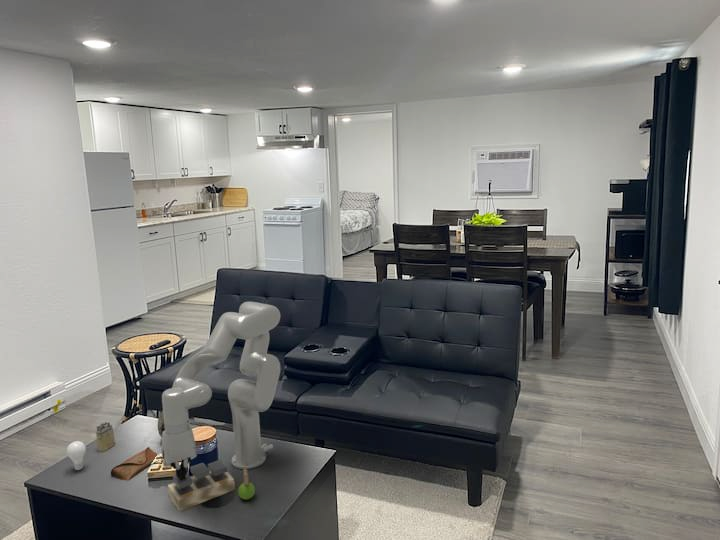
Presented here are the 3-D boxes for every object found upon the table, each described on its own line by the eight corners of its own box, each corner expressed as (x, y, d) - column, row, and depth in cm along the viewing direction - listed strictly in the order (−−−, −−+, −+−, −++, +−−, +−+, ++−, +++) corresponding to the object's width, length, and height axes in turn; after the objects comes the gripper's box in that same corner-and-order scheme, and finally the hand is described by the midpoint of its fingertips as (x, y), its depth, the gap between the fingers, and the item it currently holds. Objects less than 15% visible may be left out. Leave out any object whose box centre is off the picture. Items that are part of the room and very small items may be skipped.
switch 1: (186, 480, 188) (185, 471, 187) (193, 488, 183) (192, 479, 183) (173, 485, 186) (172, 475, 185) (179, 493, 181) (178, 484, 180)
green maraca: (239, 506, 181) (237, 472, 178) (238, 495, 187) (235, 462, 184) (256, 502, 182) (254, 469, 180) (254, 492, 188) (252, 459, 186)
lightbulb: (65, 473, 203) (61, 445, 201) (78, 464, 209) (75, 436, 207) (79, 475, 201) (75, 447, 199) (92, 466, 207) (88, 439, 205)
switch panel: (222, 475, 199) (221, 465, 198) (235, 489, 190) (234, 478, 189) (168, 495, 188) (167, 484, 187) (179, 511, 179) (178, 499, 178)
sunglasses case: (127, 481, 196) (119, 464, 197) (116, 487, 200) (108, 470, 200) (165, 457, 212) (157, 441, 213) (154, 462, 216) (146, 447, 216)
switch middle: (203, 471, 191) (202, 462, 191) (210, 479, 187) (209, 469, 186) (191, 475, 189) (190, 466, 188) (197, 483, 184) (196, 474, 183)
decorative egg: (195, 436, 228) (192, 402, 225) (176, 450, 217) (172, 414, 214) (173, 432, 232) (169, 398, 229) (152, 445, 222) (149, 410, 219)
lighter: (110, 442, 225) (107, 419, 223) (117, 444, 223) (114, 421, 221) (96, 450, 219) (92, 427, 217) (103, 452, 217) (100, 429, 215)
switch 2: (220, 468, 195) (219, 459, 194) (227, 476, 190) (226, 466, 190) (208, 472, 192) (207, 463, 192) (215, 480, 188) (214, 471, 187)
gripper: (195, 415, 187) (199, 465, 191) (149, 428, 179) (155, 480, 182) (203, 423, 181) (207, 475, 185) (157, 437, 173) (162, 491, 176)
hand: (181, 477), depth 184 cm, fingers closed
